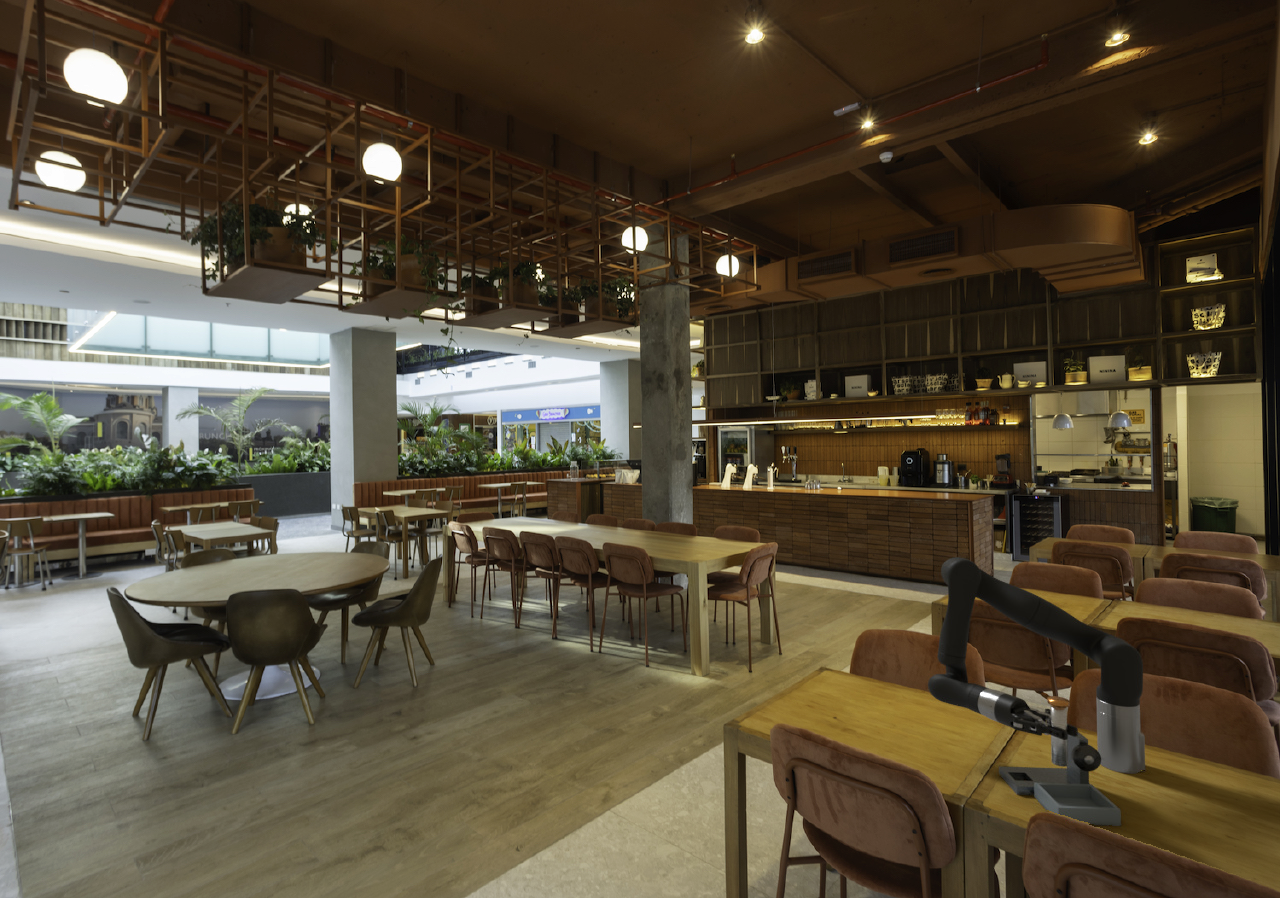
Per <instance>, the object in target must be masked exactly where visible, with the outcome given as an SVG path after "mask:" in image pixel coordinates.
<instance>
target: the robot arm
mask: <svg viewBox="0 0 1280 898" xmlns="http://www.w3.org/2000/svg"><path fill="white" fill-rule="evenodd" d="M940 575H941V578H942V580H943V581H944V583H945V584H946V585H947V588H948V589H947V594H948V599H947V608H946V613H945V616H944V620H943V623H942V627H941V630H940V634H939V641H938V651H937V659H938V662H939V663H940V664H941V665H944V666H945V672H946V673H938V674H934V675H932V676H931V677H930V678H929V679H928V682H927V687H928V691H929V693H930V694H931V696H932V697H933V698H935V699H936V700H938V701H940V702H942V703H945V704H949V705H952V706H956V707H961V708H965V709H968V710H970V711H971V712H974V713H977V714H979V715H982V716H983V717H986V718H988V719H989V720H991V721H994V722H997V723H999V724H1001V725H1004V726H1007V727H1009V728H1012V729H1013V730H1015V731H1019V732H1023V733H1026V734H1032V735H1036V736H1039V737H1040V736H1043V735H1046V736H1051V735H1052V736H1055V737H1057V738H1060V739H1062V740H1067V739H1068V735H1071V736H1073V737H1076V736H1078V732H1079V729H1078V727H1077V726H1075V725H1072V724H1068V723H1067V731H1066V730H1064V729H1062V728H1059V727H1056V726H1053V725H1051V708H1045V710H1044V711H1041V710H1039V709H1036V708H1031V707H1029V705H1028V703H1027V701H1025V699H1023V698H1020V697H1017V696H1015V695H1011V694H1008V693H1006V692H1004V691H1000V690H997V689H993V688H990V687H987V686H983V685H981V684H976V683H973V682H971V683H970V682H969V678H968V672H967V671H968V670H967V665H966V659H967V650H968V649H967V648H968V644H969V643H968V641H969V631H970V626H971V625H970V624H971V617H972V612H973V608H974V604H975V600H976V598H977V599H979V600H981V601H983V602H985V603H987V604H988V605H990V606H991V607H993V608H994V609H995V610H997V611H998V612H999V613H1001V614H1002V615H1004V616H1005V617H1007V618H1008V619H1010V620H1011V621H1013V622H1014V623H1016V624H1018V625H1019V626H1021V627H1023V628H1024V627H1025V628H1026V629H1028V630H1030V631H1032V632H1033V633H1035V634H1038V635H1039V636H1042V637H1044V638H1047V639H1049V640H1053V641H1057V642H1059V643H1063V644H1065V645H1068V646H1070V647H1071V648H1073V649H1075V650H1076V651H1078V652H1080V653H1082V654H1083V655H1085V656H1086V657H1088V658H1089V659H1090V660H1092V661H1093V662H1094V663H1096V664H1097V665H1098V666H1099V667H1100V684H1098V685H1097V686H1096V690H1095V691H1096V692H1095V693H1096V694H1095V695H1096V734H1097V735H1096V736H1097V737H1096V738H1097V742H1096V743H1097V744H1096V745H1097V751H1098V752H1099V753H1100V756H1101V764H1100V765H1101V766H1102V767H1104V768H1106V769H1107V770H1108V769H1109V770H1111V771H1112V772H1117V773H1121V774H1128V775H1129V774H1133V775H1134V774H1139V773H1140V771H1141V770H1145V771H1146V749H1145V745H1146V743H1145V734H1144V733H1143V732H1141V709H1140V708H1141V707H1140V706H1141V705H1140V702H1141V697H1142V695H1143V689H1144V688H1143V687H1144V685H1143V684H1144V664H1143V659H1142V655H1141V652H1139V650H1138V649H1137V648H1135V647H1134V646H1133V645H1131V644H1130V643H1128V642H1127V641H1126V640H1124V639H1122V638H1120V637H1118V636H1115V635H1113V634H1110V633H1108V632H1105V631H1103V630H1100V629H1099V628H1098V629H1097V628H1095V627H1093V626H1092V625H1088V624H1087V623H1084V622H1082V621H1081V620H1079V619H1078V618H1076V617H1075V616H1073V615H1071V614H1070V613H1069V612H1067V611H1066V610H1064V609H1062V608H1061V607H1059V606H1057V605H1056V604H1054V603H1052V602H1050V601H1048V600H1046V599H1044V598H1042V597H1041V596H1039V595H1037V594H1034V593H1032V592H1030V591H1028V590H1026V589H1024V588H1022V587H1018V586H1015V585H1013V584H1010V583H1008V582H1006V581H1002V580H1001V579H998V578H996V577H995V576H992V575H991V574H989V573H987V572H986V571H984V570H982V569H981V568H979V566H978V565H977V564H976V563H975V562H974V561H972V560H970V559H968V558H965V557H961V556H960V557H959V556H957V557H951V558H949V559H947V560H946V561H944V563H942V566H941V569H940ZM1138 772H1139V773H1138ZM1141 772H1142V771H1141Z"/></svg>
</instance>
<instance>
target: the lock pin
mask: <svg viewBox="0 0 1280 898" xmlns="http://www.w3.org/2000/svg"><path fill="white" fill-rule="evenodd" d="M1046 699H1047V701H1046V702H1047V704H1049V705H1050V710H1051V725H1053V726H1056V727H1059V728H1062V729H1064V730H1066V731H1067V724H1068V717H1067V716H1068V710H1067V708H1070V706H1071V703H1070V700H1069V699H1067V698H1065V697H1062V696H1056V695H1051V696H1050V695H1049V696H1047V698H1046ZM1050 739H1051V740H1050V741H1051V742H1050V747H1051V763H1052V764H1053V765H1055V766H1058V767H1062V768H1063V767H1067V766H1068V751H1067V740H1062V739H1060V738H1057V737H1055V736H1052V735H1050Z"/></svg>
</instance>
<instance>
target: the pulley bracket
mask: <svg viewBox="0 0 1280 898" xmlns="http://www.w3.org/2000/svg"><path fill="white" fill-rule="evenodd" d="M1067 751H1068V766H1066V768H1063V767H1061V768H1060V767H1036V766H1035V767H1032V766H1031V767H1028V766H1027V767H1026V766H1025V767H1024V766H1000V765H999V766H998V775H999V774H1000V775H1001V776H1000V775H999V776H1000V777H1001V778H1002V779H1003V780H1004V782H1005V783H1006V784H1007V785H1008V787H1010V789H1012V791H1013V792H1014V793H1015V794H1016V795H1019V796H1034V783H1066V784H1091V783H1090V773H1089V772H1094V771H1096V770H1097V769H1098V768H1099V767H1100V765H1101V756H1100V753H1099V752H1098V749H1096V748H1095V747H1094V746H1092V745H1091V744H1089V739H1088V738H1087V737H1086V736H1085V735H1083V734H1082V733H1081V732H1079V731H1078V736H1076V737H1073V736H1071V735H1068V739H1067ZM1024 780H1025V781H1024ZM1029 794H1030V795H1029Z"/></svg>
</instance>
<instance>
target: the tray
mask: <svg viewBox="0 0 1280 898" xmlns="http://www.w3.org/2000/svg"><path fill="white" fill-rule="evenodd" d="M1033 796H1034V799H1035V798H1036V799H1037V800H1038V801H1037V800H1036V799H1035V800H1036V801H1037V802H1038V803H1039V804H1040V805H1041V806H1042V807H1043V808H1044V809H1045V811H1047V810H1049V811H1052V812H1054V813H1057V814H1060V815H1065V816H1068V817H1071V818H1073V819H1077V820H1079V821H1084V822H1088V823H1090V824H1094V825H1093V826H1109V825H1112V826H1113V827H1116V826H1117V827H1121V825H1122V822H1121V821H1122V819H1121V818H1122V817H1121V813H1122V812H1121V809H1120V808H1119V807H1118V806H1117V805H1116V804H1115V803H1113V801H1111V800H1110V799H1109V798H1108V797H1107V796H1106V795H1105V794H1103V793H1102V792H1101V791H1100V790H1099V789H1098V788H1097V787H1095V786H1094V785H1093V784H1091V783H1090V784H1066V783H1034V795H1033Z"/></svg>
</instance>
